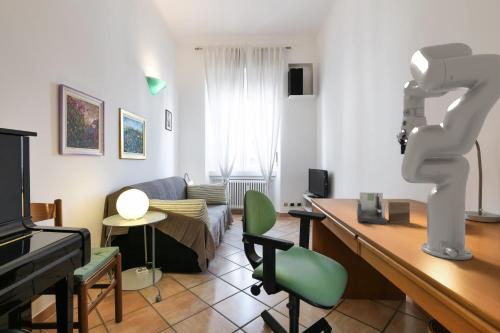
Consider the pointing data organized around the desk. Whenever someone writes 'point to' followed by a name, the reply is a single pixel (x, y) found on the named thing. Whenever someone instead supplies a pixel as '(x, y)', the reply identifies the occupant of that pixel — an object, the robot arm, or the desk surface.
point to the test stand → (369, 208)
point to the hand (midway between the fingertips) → (413, 153)
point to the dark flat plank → (377, 205)
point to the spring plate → (381, 210)
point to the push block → (399, 211)
